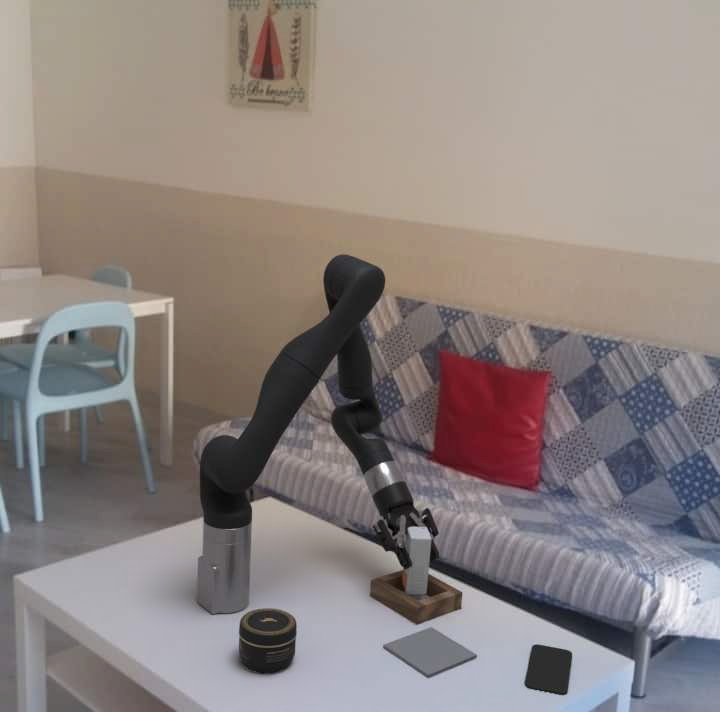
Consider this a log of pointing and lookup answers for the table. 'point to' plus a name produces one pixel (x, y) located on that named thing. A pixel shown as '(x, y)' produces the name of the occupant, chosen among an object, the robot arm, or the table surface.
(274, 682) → the table surface
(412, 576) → the skincare box
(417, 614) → the brown wooden rectangular frame
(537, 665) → the phone
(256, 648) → the jar
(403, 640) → the rubber mat
